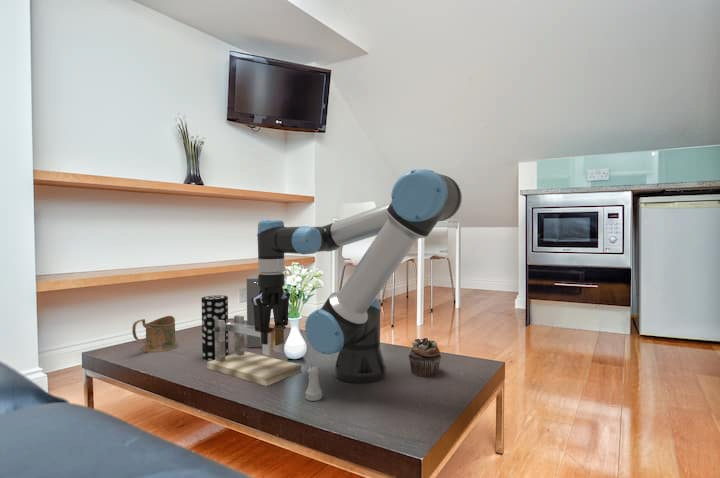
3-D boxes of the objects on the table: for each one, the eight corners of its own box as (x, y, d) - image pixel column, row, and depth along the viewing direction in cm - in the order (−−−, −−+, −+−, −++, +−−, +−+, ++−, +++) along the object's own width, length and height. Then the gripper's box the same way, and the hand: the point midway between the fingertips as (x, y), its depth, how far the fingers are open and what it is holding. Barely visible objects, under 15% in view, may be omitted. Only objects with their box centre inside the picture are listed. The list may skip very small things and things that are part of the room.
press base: (301, 371, 127) (300, 323, 126) (266, 386, 115) (266, 333, 115) (243, 356, 141) (242, 313, 141) (207, 368, 130) (206, 321, 129)
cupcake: (447, 372, 125) (447, 339, 125) (426, 380, 119) (426, 345, 119) (423, 364, 133) (422, 333, 132) (401, 371, 126) (401, 338, 126)
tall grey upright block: (264, 347, 152) (263, 278, 151) (246, 348, 152) (246, 278, 151) (269, 337, 166) (269, 274, 165) (254, 338, 166) (253, 274, 165)
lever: (283, 343, 123) (283, 326, 123) (275, 345, 120) (274, 328, 120) (231, 332, 137) (230, 316, 136) (222, 334, 134) (221, 318, 134)
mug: (120, 355, 144) (120, 320, 143) (160, 342, 160) (159, 310, 160) (147, 358, 140) (147, 322, 140) (185, 344, 157) (184, 312, 156)
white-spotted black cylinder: (232, 353, 146) (231, 295, 145) (222, 360, 137) (221, 299, 137) (209, 352, 146) (208, 295, 146) (197, 360, 138) (196, 299, 138)
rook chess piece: (301, 398, 107) (301, 366, 107) (315, 393, 110) (315, 362, 110) (312, 403, 104) (312, 371, 104) (326, 398, 107) (326, 366, 107)
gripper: (282, 269, 132) (283, 344, 133) (240, 275, 118) (241, 358, 119) (300, 271, 128) (301, 348, 128) (258, 276, 114) (259, 362, 115)
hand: (272, 352), depth 124 cm, fingers closed on lever, 3 cm apart
